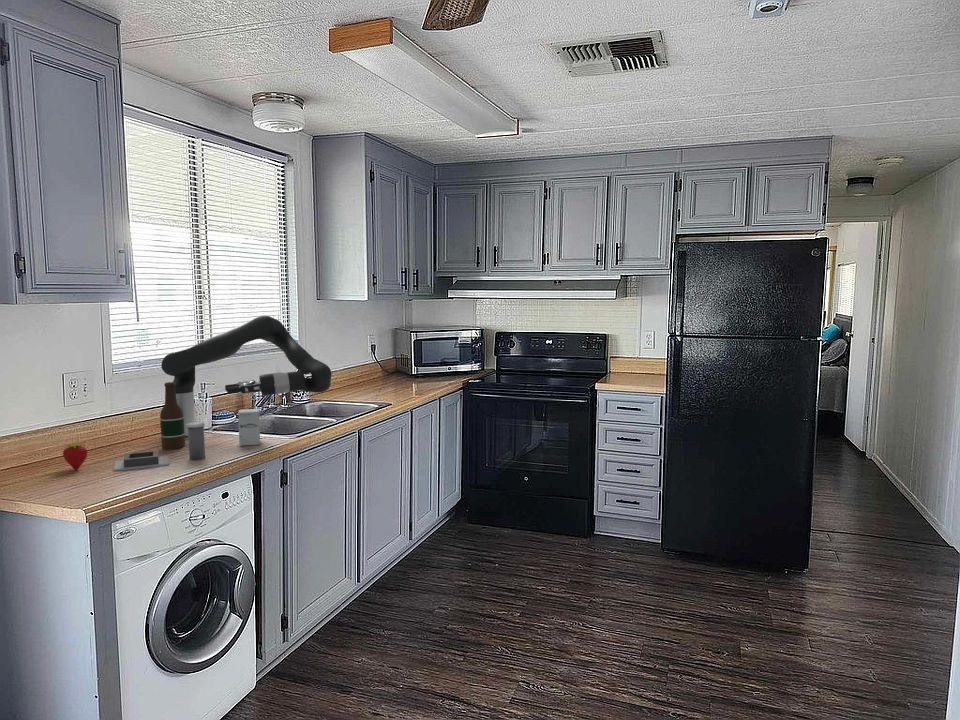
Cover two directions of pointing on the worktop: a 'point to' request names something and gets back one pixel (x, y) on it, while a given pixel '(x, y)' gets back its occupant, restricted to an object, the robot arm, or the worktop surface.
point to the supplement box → (249, 427)
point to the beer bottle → (171, 420)
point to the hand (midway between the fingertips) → (226, 389)
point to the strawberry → (75, 455)
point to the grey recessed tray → (141, 461)
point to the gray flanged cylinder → (196, 440)
